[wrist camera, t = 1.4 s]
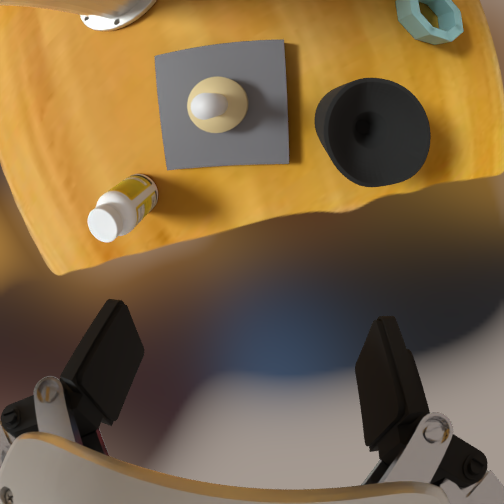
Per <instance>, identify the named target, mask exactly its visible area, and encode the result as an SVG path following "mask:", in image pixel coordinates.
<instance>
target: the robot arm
mask: <svg viewBox="0 0 504 504" xmlns="http://www.w3.org/2000/svg"><path fill="white" fill-rule="evenodd" d="M156 1H157V0H0V5H13V6H26V7H36V8H44V9H51V10H58V11H63V12H69V13H74V14H79V15H80V17H81V20H82V21H83V23H84V24H85V25H86V26H87V27H89V28H91V29H93V30H98V31H112V30H117V29H120V28H123V27H125V26H127V25H129V24H131V23H132V22H134V21H135V20H137V19H139V18H140V17H141V16H142V15H143V14H145V13H146V12H147V11H148V10H149V9H150V8H151V7H152V6H153V5H154V3H155V2H156ZM143 356H144V347H143V345H142V343H141V340H140V338H139V335H138V332H137V330H136V327H135V325H134V323H133V320H132V317H131V315H130V312H129V310H128V307H127V305H125V304H124V302H123V301H121V300H114V299H109V300H107V301H106V303H105V304H104V306H103V307H102V309H101V310H100V312H99V313H98V315H97V316H96V318H95V319H94V321H93V322H92V324H91V326H90V327H89V329H88V330H87V332H86V334H85V335H84V337H83V338H82V340H81V341H80V343H79V345H78V346H77V348H76V350H75V351H74V353H73V355H72V356H71V358H70V360H69V361H68V363H67V365H66V367H65V368H64V370H63V372H62V374H61V376H60V377H61V378H60V380H59V379H57V378H55V377H45V378H43V379H41V380H40V381H39V382H38V383H37V385H36V386H35V389H34V395H33V396H30V397H27V398H25V399H23V400H20V401H18V402H15V403H13V404H10V405H8V406H7V407H6V408H5V409H4V410H3V412H2V415H1V421H0V504H504V486H503V485H502V484H501V482H500V481H499V480H498V479H497V477H496V476H495V475H494V473H493V472H492V471H491V470H490V471H487V459H486V456H485V455H484V454H483V453H482V452H481V451H479V450H478V449H476V448H475V447H473V446H471V445H470V444H468V443H466V442H465V441H463V440H462V439H460V438H458V437H457V436H455V435H453V426H452V423H451V421H450V420H449V418H448V417H447V416H445V415H444V414H442V413H439V412H433V413H430V412H429V408H428V404H427V401H426V397H425V393H424V390H423V386H422V383H421V380H420V377H419V373H418V370H417V367H416V364H415V361H414V358H413V355H412V353H411V351H410V350H409V349H406V346H405V343H404V340H403V338H402V335H401V332H400V329H399V327H398V324H397V321H396V319H395V317H394V316H380V317H378V319H377V320H374V321H373V323H372V326H371V328H370V331H369V334H368V336H367V338H366V341H365V343H364V346H363V348H362V351H361V353H360V355H359V358H358V360H357V362H356V366H355V373H356V379H357V385H358V392H359V399H360V405H361V414H362V421H363V430H364V439H365V444H366V446H369V448H370V452H371V451H379V459H380V460H379V462H378V463H377V464H376V466H375V467H374V469H373V470H372V471H371V473H370V474H369V475H368V477H367V478H366V479H365V481H364V482H363V483H362V484H361V485H360V486H352V487H341V488H326V489H304V490H281V489H257V488H246V487H236V486H227V485H220V484H212V483H207V482H201V481H196V480H191V479H186V478H180V477H176V476H172V475H168V474H164V473H160V472H157V471H153V470H149V469H146V468H143V467H139V466H136V465H133V464H130V463H127V462H124V461H121V460H118V459H116V458H113V457H110V456H109V454H108V451H107V448H106V446H105V443H104V440H103V438H102V435H101V432H100V430H99V426H100V423H101V422H102V423H105V424H108V425H111V426H112V424H113V421H116V420H117V419H118V416H119V414H120V411H121V409H122V406H123V404H124V401H125V399H126V396H127V394H128V391H129V389H130V387H131V384H132V382H133V379H134V377H135V374H136V372H137V370H138V367H139V365H140V363H141V361H142V358H143Z"/></svg>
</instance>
